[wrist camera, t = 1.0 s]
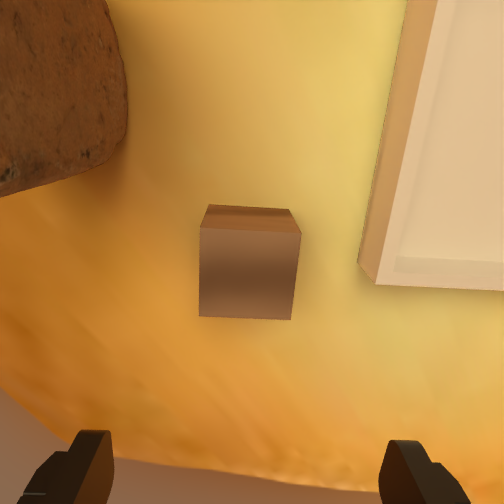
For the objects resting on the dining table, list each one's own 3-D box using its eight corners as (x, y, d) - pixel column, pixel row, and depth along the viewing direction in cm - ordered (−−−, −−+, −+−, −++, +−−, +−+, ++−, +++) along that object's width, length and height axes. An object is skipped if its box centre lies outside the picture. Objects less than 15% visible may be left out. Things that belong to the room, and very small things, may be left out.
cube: (209, 204, 25) (200, 227, 20) (288, 208, 26) (301, 233, 20) (207, 276, 28) (198, 316, 22) (280, 280, 28) (290, 320, 22)
